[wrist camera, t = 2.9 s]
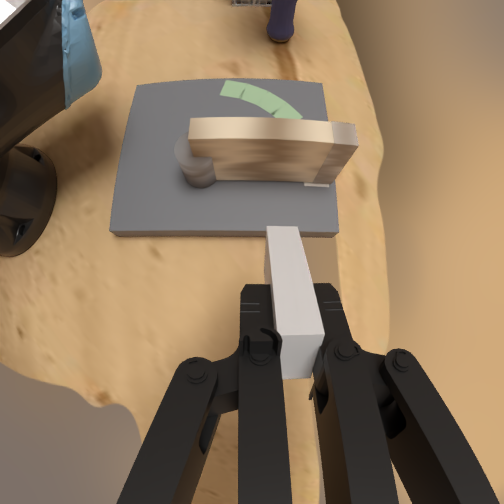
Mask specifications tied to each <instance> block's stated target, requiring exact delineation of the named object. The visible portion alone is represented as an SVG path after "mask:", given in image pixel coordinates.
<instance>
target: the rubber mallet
mask: <svg viewBox="0 0 504 504" xmlns="http://www.w3.org/2000/svg"><path fill="white" fill-rule="evenodd" d="M296 3H297V0H272V5H271V15H270V20H269V23H268V25H267V33H268V35H269V36H270V37H271V39H272V40H274V41H277V42H285V41H287V40H289V38H290V37H291V36H292V35H293V33H294V26H293V19H294V13H295V6H296Z"/></svg>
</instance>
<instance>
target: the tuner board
mask: <svg viewBox="0 0 504 504" xmlns="http://www.w3.org/2000/svg"><path fill="white" fill-rule="evenodd" d="M205 117H265V118H288V119H303V120H316V121H326V122H328V117H327V111H326V104H325V98H324V92H323V86H322V83H315V82H304V81H292V80H277V79H245V78H230V79H198V80H183V81H171V82H161V83H152V84H144V85H137V87H136V91H135V94H134V98H133V102H132V106H131V110H130V114H129V118H128V122H127V126H126V131H125V135H124V140H123V144H122V149H121V154H120V160H119V165H118V171H117V177H116V183H115V189H114V196H113V203H112V211H111V219H110V228H109V231H110V232H112V233H114V234H115V235H117V236H259V237H266V227H267V226H296V227H298V230H299V234H300V237H325V238H326V237H327V238H332V237H333V236H335V235H336V234H337V233H339V224H338V209H337V197H336V185H335V180H334V181H333V183H332V184H321V183H312V182H293V181H256V180H216V182H215V183H213V184H212V185H210V186H208V187H205V188H197V187H194V186H192V185H190V184H189V183H188V182H187V180H186V178H185V176H184V174H183V172H182V170H181V167H180V165H179V163H178V161H177V158H176V156H175V153H174V147H175V143H176V141H177V140H178V139H179V137H180V136H182V135H183V134H184V133H186V132H188V131H189V126H190V118H205Z"/></svg>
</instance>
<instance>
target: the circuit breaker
mask: <svg viewBox="0 0 504 504" xmlns="http://www.w3.org/2000/svg"><path fill="white" fill-rule="evenodd" d="M237 2H241V4H237ZM232 3H234V4H232V6H264V7H271V5H272V0H232ZM250 3H253V4H250ZM267 3H270V4H267Z"/></svg>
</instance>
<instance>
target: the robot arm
mask: <svg viewBox="0 0 504 504" xmlns="http://www.w3.org/2000/svg"><path fill="white" fill-rule="evenodd" d="M101 76H102V67H101V63H100V59H99V56H98V53H97V49H96V46H95V43H94V39H93V36H92V33H91V29H90V26H89V22H88V19H87V16H86V12H85V8H84V5H83V0H0V255H3V256H7V257H12V256H16V255H19V254H21V253H23V252H24V251H26V250H27V249H28V248H29V247H31V246H32V245H33V243H34V242H35V241H36V240H37V239H38V237H39V236H40V234H41V233H42V231H43V230H44V228H45V226H46V224H47V222H48V220H49V217H50V215H51V212H52V209H53V206H54V202H55V197H56V189H57V178H56V172H55V168H54V165H53V163H52V161H51V160H50V159H49V158H48V157H47V156H46V155H45V154H44V153H43V152H41V151H40V150H39V149H37V148H35V147H32V146H28V145H24V144H19V142H20V141H22V140H23V139H24V138H25V137H27V136H28V135H29V134H30V133H32V132H33V131H34V130H36V129H37V128H38V127H40V126H41V125H42V124H44V123H45V122H46V121H48V120H49V119H51V118H52V117H53V116H55V115H56V114H58V113H59V112H61V111H62V110H64V109H68V108H69V107H70V106H71V104H72V103H73V102H74V101H76V100H77V99H79V98H80V97H82V96H83V95H85V94H86V93H88V92H89V91H91V90H92V89H93V88H94V87H96V85H97V84H98V82H99V80H100V79H101ZM264 278H265V284H246V285H245V286H244V288H243V290H242V291H241V296H240V338H239V346H238V348H237V350H236V351H235V352H234V353H233V354H232V355H231V356H229V357H227V358H225V359H222V360H218V361H214V362H211V361H210V360H207V359H205V358H201V357H193V358H189V359H186V360H185V361H183V362H182V363H181V364H180V365H179V366H178V368H177V369H176V371H175V374H174V376H173V378H172V380H171V382H170V384H169V387H168V389H167V391H166V393H165V395H164V397H163V400H162V402H161V404H160V406H159V408H158V411H157V413H156V415H155V417H154V420H153V422H152V424H151V426H150V428H149V431H148V433H147V435H146V437H145V440H144V442H143V444H142V446H141V449H140V451H139V453H138V455H137V458H136V460H135V462H134V465H133V467H132V469H131V471H130V474H129V476H128V478H127V481H126V483H125V485H124V488H123V490H122V492H121V495H120V497H119V499H118V501H117V504H191V501H192V499H193V496H194V493H195V490H196V487H197V484H198V482H199V479H200V476H201V473H202V470H203V467H204V464H205V461H206V458H207V455H208V452H209V449H210V447H211V444H212V441H213V438H214V435H215V432H216V429H217V426H218V423H219V420H220V417H221V414H223V413H227V412H230V411H234V410H237V409H238V504H292V492H291V478H290V464H289V451H288V439H287V427H286V415H285V403H284V392H283V381H282V379H302V378H311V375H312V372H313V376H314V384H313V386H312V389H311V391H310V394H309V400H312V397H313V400H314V407H315V414H316V421H317V429H318V436H319V445H320V452H321V461H322V470H323V479H324V488H325V497H326V504H399V501H398V496H397V490H396V484H395V479H394V474H393V469H392V464H391V461H392V463H393V465H394V467H395V469H396V471H397V473H398V475H399V477H400V479H401V481H402V483H403V485H404V487H405V489H406V491H407V493H408V496H409V498H410V500H411V502H412V504H499V501H498V499H497V497H496V495H495V493H494V491H493V489H492V487H491V485H490V483H489V481H488V479H487V477H486V475H485V473H484V471H483V469H482V467H481V465H480V463H479V461H478V460H477V458H476V456H475V454H474V452H473V450H472V449H471V447H470V445H469V443H468V442H467V440H466V438H465V436H464V434H463V433H462V431H461V429H460V428H459V426H458V424H457V423H456V421H455V419H454V417H453V416H452V415H451V413H450V411H449V409H448V408H447V406H446V405H445V403H444V401H443V400H442V398H441V396H440V395H439V393H438V392H437V390H436V388H435V387H434V385H433V384H432V382H431V381H430V379H429V378H428V376H427V375H426V373H425V372H424V370H423V369H422V367H421V365H420V364H419V362H418V361H417V359H416V358H415V357H414V356H413V355H412V354H411V353H410V352H408V351H407V350H405V349H399V348H398V349H393V350H391V351H390V352H388V353H387V355H386V356H385V355H379V354H374V353H370V352H366V351H364V350H362V349H361V347H360V345H358V344H357V343H356V342H355V341H353V338H352V336H351V333H350V329H349V326H348V323H347V319H346V316H345V313H344V310H343V307H342V304H341V300H340V297H339V294H338V291H336V289H335V288H334V287H333V286H332V285H331V284H330V283H312V279H311V275H310V271H309V267H308V263H307V260H306V256H305V252H304V248H303V245H302V241H301V237H300V234H299V230H298V227H296V226H267V227H266V245H265V262H264Z"/></svg>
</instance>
